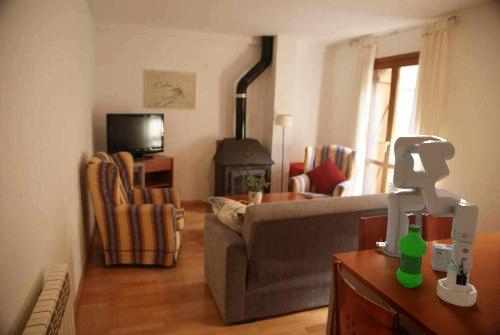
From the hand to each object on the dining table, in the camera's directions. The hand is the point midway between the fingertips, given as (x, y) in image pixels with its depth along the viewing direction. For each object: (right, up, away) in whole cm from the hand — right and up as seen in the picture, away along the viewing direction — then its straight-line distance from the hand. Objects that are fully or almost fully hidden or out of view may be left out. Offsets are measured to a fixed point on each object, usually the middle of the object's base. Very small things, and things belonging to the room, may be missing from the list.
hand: (457, 278), depth 128 cm
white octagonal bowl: (0, -8, +1) cm, 8 cm away
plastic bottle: (-14, -6, +10) cm, 18 cm away
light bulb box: (+10, -4, +25) cm, 27 cm away
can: (0, -7, +1) cm, 7 cm away
